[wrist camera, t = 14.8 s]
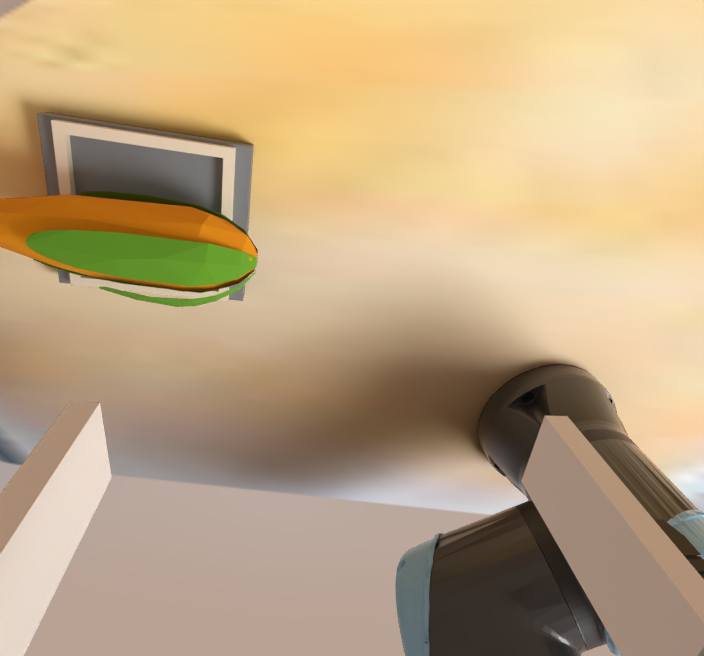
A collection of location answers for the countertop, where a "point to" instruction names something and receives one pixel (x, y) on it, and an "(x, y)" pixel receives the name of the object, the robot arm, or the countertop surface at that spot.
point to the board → (146, 174)
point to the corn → (131, 242)
